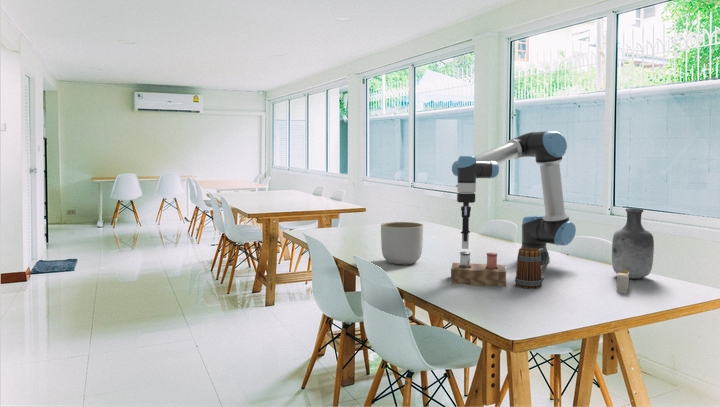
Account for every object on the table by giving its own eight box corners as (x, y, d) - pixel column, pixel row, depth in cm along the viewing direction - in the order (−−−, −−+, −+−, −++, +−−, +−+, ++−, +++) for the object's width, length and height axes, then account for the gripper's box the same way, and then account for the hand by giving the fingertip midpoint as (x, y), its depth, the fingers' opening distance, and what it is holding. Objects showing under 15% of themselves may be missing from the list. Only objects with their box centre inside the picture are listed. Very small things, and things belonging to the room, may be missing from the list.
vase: (618, 271, 241) (621, 206, 238) (657, 277, 229) (660, 208, 227) (605, 277, 230) (607, 208, 227) (644, 283, 218) (648, 211, 215)
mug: (528, 290, 208) (529, 252, 207) (509, 284, 218) (510, 248, 216) (556, 285, 216) (557, 249, 214) (537, 280, 225) (538, 245, 223)
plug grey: (470, 272, 226) (470, 251, 225) (470, 274, 222) (470, 253, 221) (459, 272, 227) (460, 251, 226) (459, 274, 223) (459, 253, 222)
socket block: (504, 278, 228) (504, 264, 227) (505, 286, 214) (506, 271, 214) (452, 276, 233) (452, 262, 232) (450, 283, 219) (451, 269, 218)
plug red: (496, 273, 224) (497, 252, 223) (497, 276, 219) (497, 254, 218) (486, 273, 224) (486, 252, 224) (486, 275, 220) (486, 254, 219)
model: (616, 293, 206) (617, 273, 205) (619, 287, 215) (620, 268, 214) (625, 294, 204) (626, 274, 203) (628, 288, 213) (629, 269, 212)
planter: (374, 265, 256) (374, 226, 254) (388, 257, 275) (388, 221, 273) (416, 268, 248) (416, 228, 246) (427, 260, 267) (428, 223, 266)
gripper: (457, 191, 228) (456, 245, 230) (456, 193, 216) (455, 250, 218) (475, 192, 227) (474, 246, 229) (475, 194, 214) (474, 251, 216)
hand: (465, 248), depth 223 cm, fingers closed
